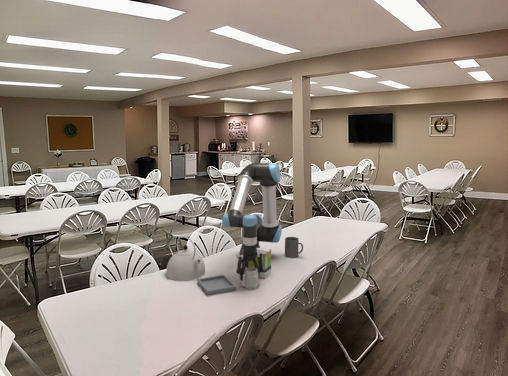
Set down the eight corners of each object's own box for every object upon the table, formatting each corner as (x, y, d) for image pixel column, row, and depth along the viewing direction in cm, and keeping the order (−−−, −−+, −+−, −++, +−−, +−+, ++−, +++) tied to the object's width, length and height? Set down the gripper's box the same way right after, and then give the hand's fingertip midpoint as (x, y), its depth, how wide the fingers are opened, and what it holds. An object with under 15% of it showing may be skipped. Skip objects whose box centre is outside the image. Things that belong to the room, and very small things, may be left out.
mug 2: (282, 256, 258) (282, 238, 257) (289, 252, 265) (290, 236, 264) (299, 260, 250) (299, 242, 248) (306, 256, 257) (306, 239, 255)
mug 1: (251, 291, 202) (251, 269, 200) (236, 284, 210) (236, 263, 208) (261, 287, 207) (261, 265, 205) (246, 280, 215) (246, 260, 213)
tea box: (271, 273, 227) (271, 249, 225) (264, 279, 218) (265, 254, 216) (248, 269, 233) (248, 245, 231) (241, 274, 224) (241, 250, 222)
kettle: (215, 274, 225) (215, 237, 221) (184, 285, 208) (183, 245, 205) (190, 264, 242) (189, 229, 238) (158, 273, 226) (157, 236, 222)
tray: (197, 283, 211) (197, 279, 211) (224, 278, 218) (224, 274, 218) (207, 295, 195) (207, 291, 195) (236, 290, 202) (236, 286, 202)
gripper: (235, 248, 197) (235, 290, 201) (269, 243, 206) (269, 283, 210) (229, 244, 204) (229, 285, 207) (263, 239, 213) (263, 279, 216)
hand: (249, 284), depth 209 cm, fingers closed on mug 1, 7 cm apart
